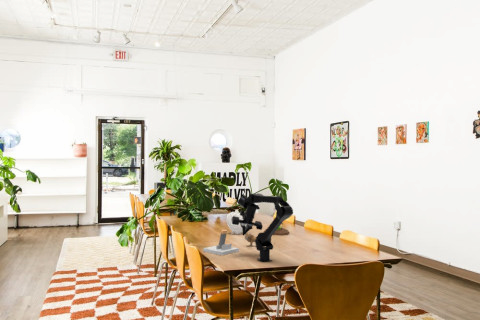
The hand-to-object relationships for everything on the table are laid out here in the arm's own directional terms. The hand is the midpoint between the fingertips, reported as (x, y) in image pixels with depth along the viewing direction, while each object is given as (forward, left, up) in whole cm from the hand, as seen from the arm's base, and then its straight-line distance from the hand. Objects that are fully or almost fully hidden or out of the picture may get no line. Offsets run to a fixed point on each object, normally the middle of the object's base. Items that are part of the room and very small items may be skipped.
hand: (243, 235), depth 271 cm
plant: (+60, -58, -13) cm, 84 cm away
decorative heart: (+66, -26, -12) cm, 72 cm away
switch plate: (+13, +9, -12) cm, 20 cm away
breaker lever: (+13, +9, -9) cm, 18 cm away
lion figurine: (+19, -18, -12) cm, 29 cm away
